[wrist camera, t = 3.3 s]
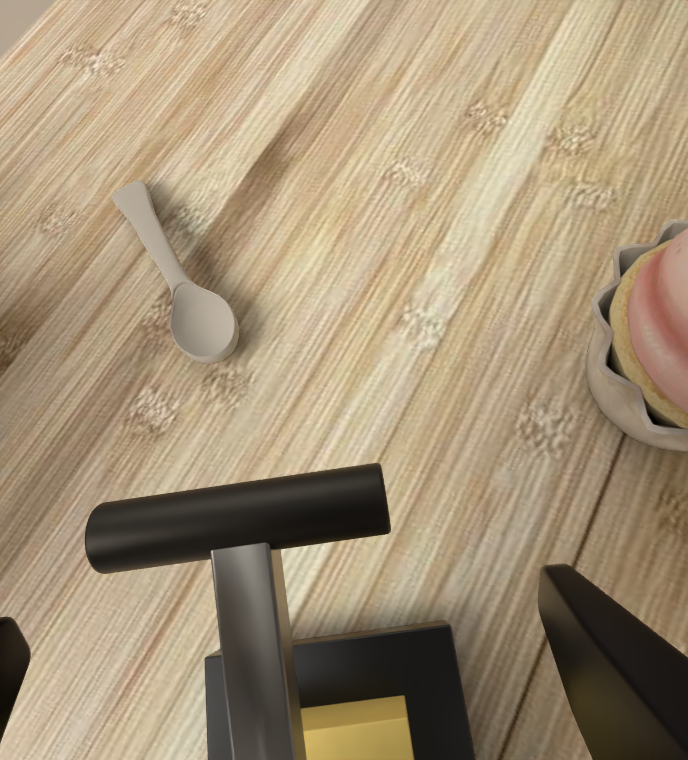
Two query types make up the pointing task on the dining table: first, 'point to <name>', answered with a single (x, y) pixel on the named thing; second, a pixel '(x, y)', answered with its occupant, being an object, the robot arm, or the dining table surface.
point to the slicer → (370, 684)
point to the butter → (358, 730)
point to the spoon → (181, 285)
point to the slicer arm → (246, 576)
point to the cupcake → (644, 340)
